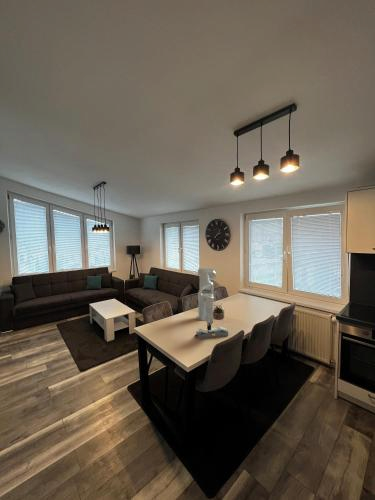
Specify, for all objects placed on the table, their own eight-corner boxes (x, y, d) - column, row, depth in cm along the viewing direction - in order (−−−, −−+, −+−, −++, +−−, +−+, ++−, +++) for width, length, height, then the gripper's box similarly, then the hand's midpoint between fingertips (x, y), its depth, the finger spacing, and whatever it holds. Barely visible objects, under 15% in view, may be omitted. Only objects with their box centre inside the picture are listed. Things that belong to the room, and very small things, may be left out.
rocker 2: (207, 330, 191) (207, 328, 191) (215, 328, 193) (215, 327, 193) (209, 331, 187) (209, 330, 187) (217, 330, 189) (217, 329, 189)
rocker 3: (217, 327, 193) (217, 325, 193) (224, 329, 195) (225, 328, 195) (219, 329, 189) (219, 327, 190) (226, 331, 191) (227, 329, 192)
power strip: (193, 335, 190) (193, 330, 190) (224, 332, 198) (225, 327, 198) (195, 339, 184) (196, 333, 183) (228, 335, 191) (228, 330, 191)
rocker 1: (198, 329, 189) (198, 327, 189) (205, 331, 191) (206, 330, 191) (199, 331, 185) (200, 329, 185) (207, 333, 187) (207, 331, 187)
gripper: (202, 307, 195) (202, 326, 195) (208, 312, 180) (208, 333, 180) (210, 306, 196) (210, 326, 197) (216, 312, 182) (216, 332, 182)
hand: (209, 329), depth 189 cm, fingers closed
